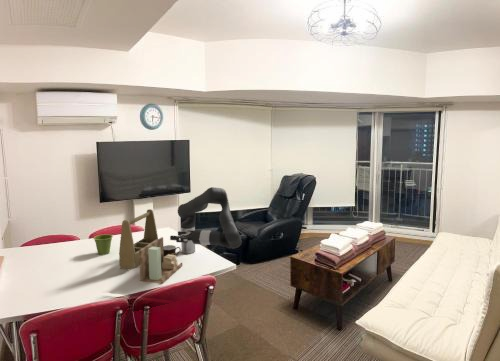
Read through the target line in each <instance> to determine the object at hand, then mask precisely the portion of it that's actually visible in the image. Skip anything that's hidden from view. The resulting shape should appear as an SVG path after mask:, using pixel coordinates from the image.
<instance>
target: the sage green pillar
mask: <svg viewBox="0 0 500 361" xmlns="http://www.w3.org/2000/svg"><path fill="white" fill-rule="evenodd" d="M148 253H149V278H150V279H151V280H159V279H160V278H161V277H162V274H161V247H151V248H149V249H148Z"/></svg>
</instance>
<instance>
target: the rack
mask: <svg viewBox="0 0 500 361" xmlns="http://www.w3.org/2000/svg"><path fill="white" fill-rule="evenodd" d="M163 246H164V237H162V236H161V237H160V238H158V240H156V241H155V242H153V243H151V244H150V245H148V246H146V247H145V248H143V249H141V250H140V251H139V254H140V265H139V271H140V272H139V273H140V282H143V283H144V282H145V283H152V284H153V283H154V284H164V283H165V282H166V281H167V280H169V279H170V278H172V276H173V275H175V274H176V273H177V272H178V271H179V270H180V269H181V268H182V267H183V262H180V263H179V264H178V265H177V267H176V268H174V269H162V263H163V257H164V248H163ZM151 247H161V274H162V277H161V278H160V279H159V280H151V279H150V278H149V253H148V249H149V248H151Z"/></svg>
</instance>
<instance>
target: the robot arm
mask: <svg viewBox="0 0 500 361" xmlns="http://www.w3.org/2000/svg"><path fill="white" fill-rule="evenodd" d="M209 204H210V205H211V204H213V205H220V207H221V211H220V213H219V216H218V219H219V224H220V226H221V229H222V231H223V232H222V231H218V230H209V229H196V213H200V212H203V211H204V210H206V209H207V208H208V206H209ZM177 215H178V216H179V217H180V218H182V219H185V218H187V219H185V220H184V221H182V222H181V223H180V230H178V231H177V235H170V236H169V240H170V241H175V242H176V243H181V247H180V248H181V253H183V254H185V255H186V254H187V255H188V254H193V253H195V252H196V245H203V246H205V245H206V246H207V245H209V246H210V245H211V246H220V247H223V248H228V249H237V248H240V246H241V245H242V242H243V241H242V237H241V236H240V233H239V230H238V227H236V223H235V220H234V218H233V216H232V212H231V208H230V203H229V197H228V194H227V192H226V190H225V189H224V188H220V187H209V188H207V189H206V190H205V191H204V192H203V193H201V194H199V195H197V196H195V197H194V198H192V199H191V200H189V201H187V202H185V203H182V204H180V205H178V208H177Z"/></svg>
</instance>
